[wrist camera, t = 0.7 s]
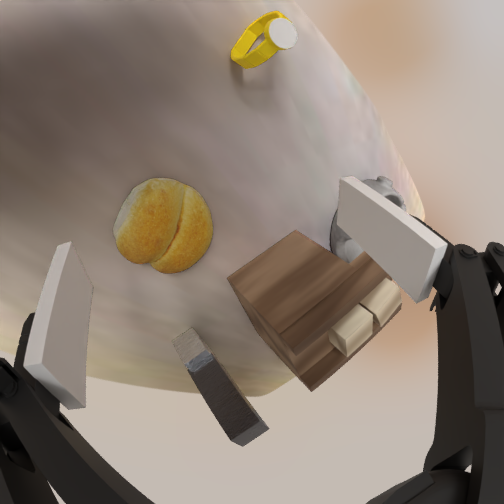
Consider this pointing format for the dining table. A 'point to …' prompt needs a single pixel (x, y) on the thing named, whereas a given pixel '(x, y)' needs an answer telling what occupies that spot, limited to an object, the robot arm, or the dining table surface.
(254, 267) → the slot board
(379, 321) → the cream block
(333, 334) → the cream square block
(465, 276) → the robot arm
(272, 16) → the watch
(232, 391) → the dark gray upright block
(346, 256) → the dish
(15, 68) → the dining table surface
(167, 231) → the bread roll
